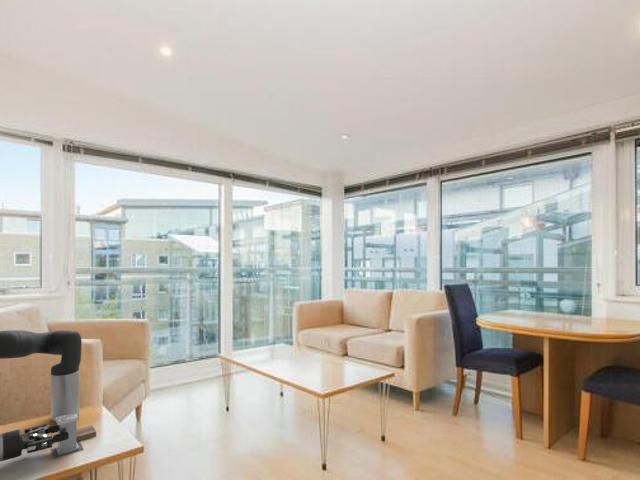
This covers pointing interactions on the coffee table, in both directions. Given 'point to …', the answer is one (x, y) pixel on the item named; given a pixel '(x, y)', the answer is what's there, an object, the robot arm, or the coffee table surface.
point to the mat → (66, 453)
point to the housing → (68, 425)
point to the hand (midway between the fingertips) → (66, 430)
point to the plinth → (85, 433)
